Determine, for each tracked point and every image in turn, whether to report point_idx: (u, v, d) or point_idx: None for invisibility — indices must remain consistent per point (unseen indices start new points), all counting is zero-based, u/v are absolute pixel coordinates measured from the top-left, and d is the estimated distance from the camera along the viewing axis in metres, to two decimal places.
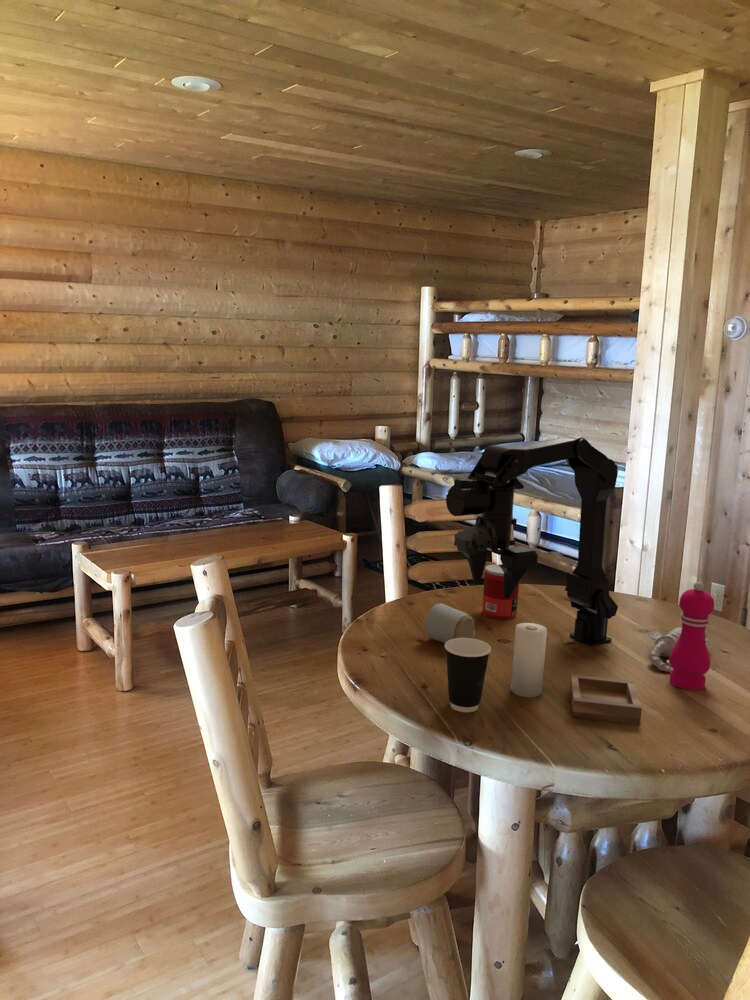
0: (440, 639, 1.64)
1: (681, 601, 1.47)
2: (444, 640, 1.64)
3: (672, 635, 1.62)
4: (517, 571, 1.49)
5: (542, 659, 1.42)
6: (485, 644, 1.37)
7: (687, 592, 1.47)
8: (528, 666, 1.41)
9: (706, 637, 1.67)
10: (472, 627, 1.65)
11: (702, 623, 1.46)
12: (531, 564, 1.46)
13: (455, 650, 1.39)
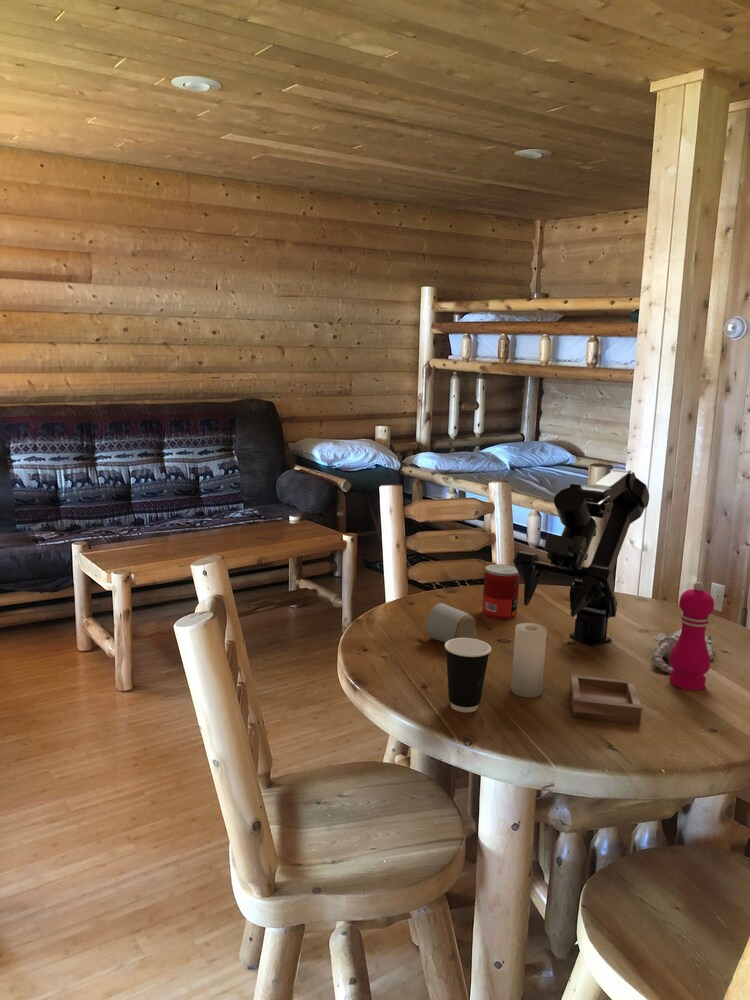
0: (441, 639, 1.65)
1: (681, 601, 1.47)
2: (445, 640, 1.64)
3: (676, 636, 1.62)
4: (589, 594, 1.48)
5: (542, 659, 1.42)
6: (485, 644, 1.37)
7: (687, 592, 1.47)
8: (528, 666, 1.41)
9: (711, 639, 1.66)
10: (473, 627, 1.65)
11: (702, 623, 1.46)
12: (610, 588, 1.47)
13: (455, 650, 1.39)
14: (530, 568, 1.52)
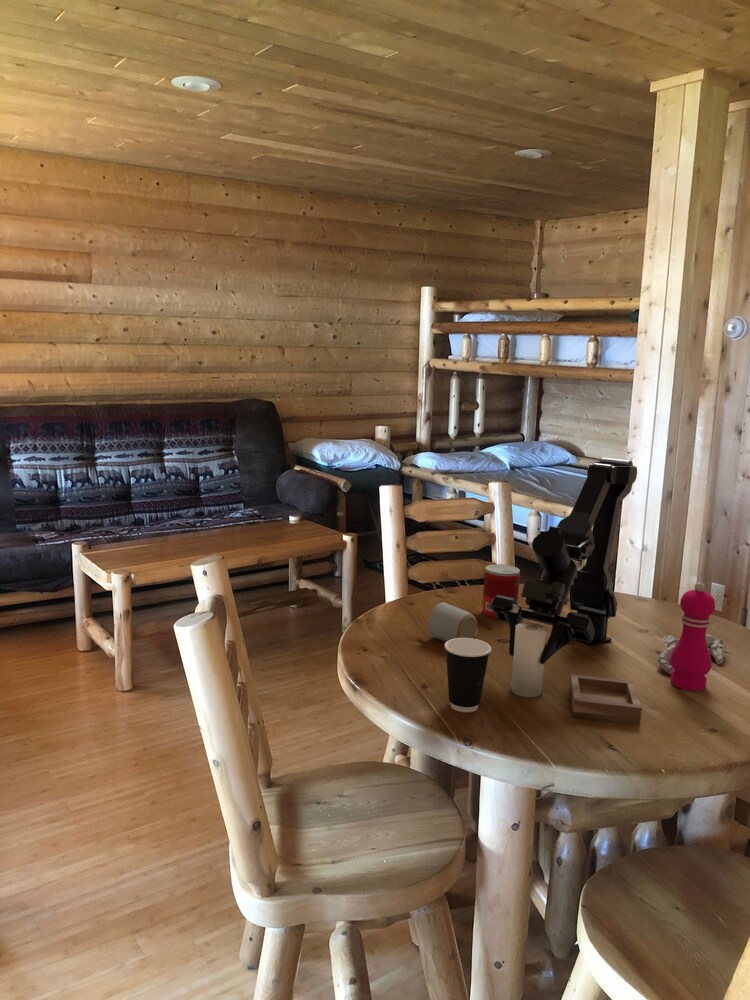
0: (443, 638, 1.65)
1: (682, 602, 1.47)
2: (447, 639, 1.64)
3: None
4: (559, 640, 1.43)
5: None
6: (485, 644, 1.37)
7: (688, 593, 1.47)
8: (528, 666, 1.41)
9: (723, 643, 1.64)
10: (475, 626, 1.66)
11: (703, 624, 1.46)
12: (590, 637, 1.41)
13: (455, 650, 1.39)
14: (516, 616, 1.45)
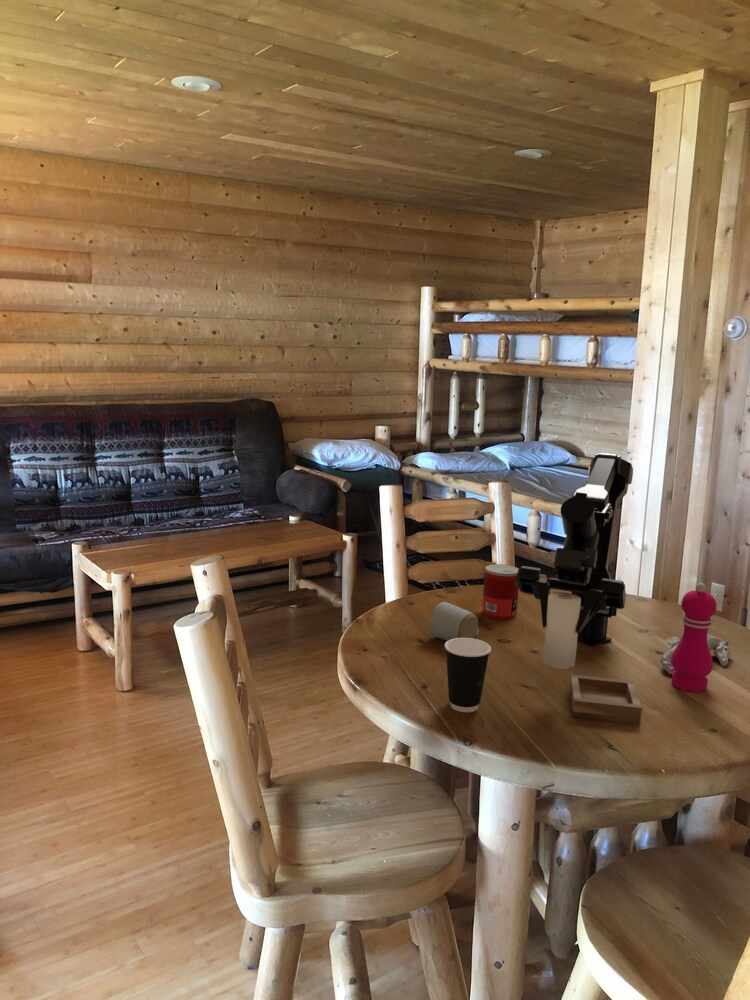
0: (444, 637, 1.65)
1: (683, 602, 1.46)
2: (448, 638, 1.65)
3: None
4: (591, 608, 1.40)
5: None
6: (485, 644, 1.37)
7: (689, 593, 1.46)
8: (564, 636, 1.37)
9: (728, 645, 1.63)
10: (476, 625, 1.66)
11: (704, 625, 1.45)
12: (623, 602, 1.39)
13: (455, 650, 1.39)
14: (546, 586, 1.41)
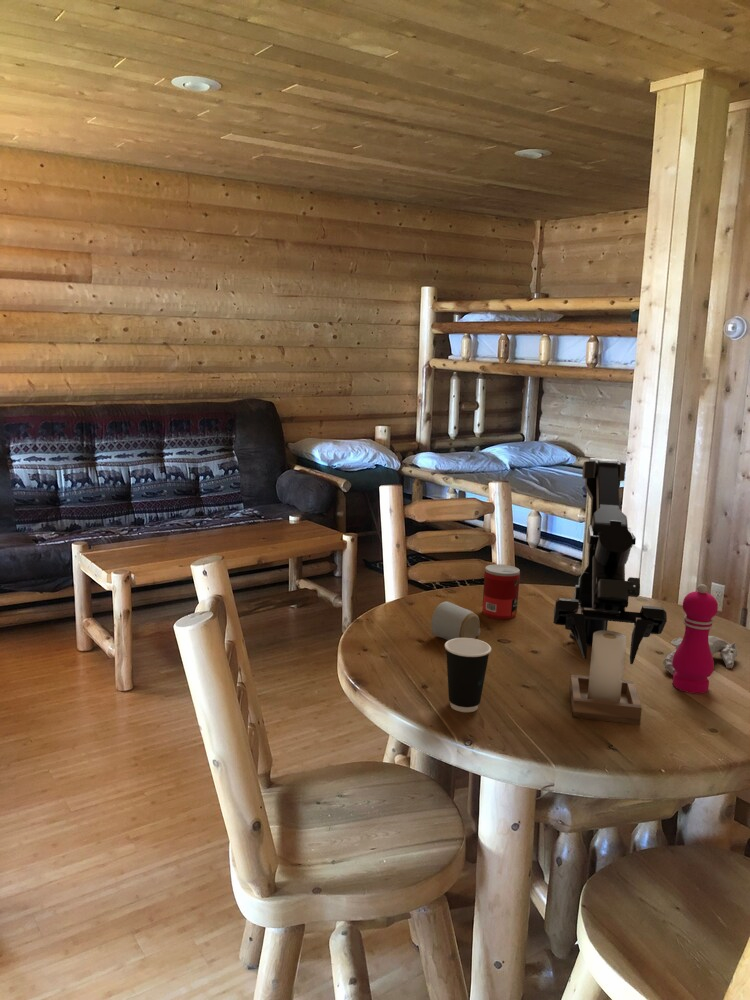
0: (446, 637, 1.66)
1: (684, 603, 1.46)
2: (450, 638, 1.65)
3: None
4: None
5: (623, 666, 1.37)
6: (485, 644, 1.37)
7: (690, 594, 1.46)
8: (614, 676, 1.36)
9: (734, 647, 1.62)
10: (478, 625, 1.66)
11: (706, 626, 1.45)
12: (662, 628, 1.40)
13: (455, 650, 1.39)
14: (583, 617, 1.39)
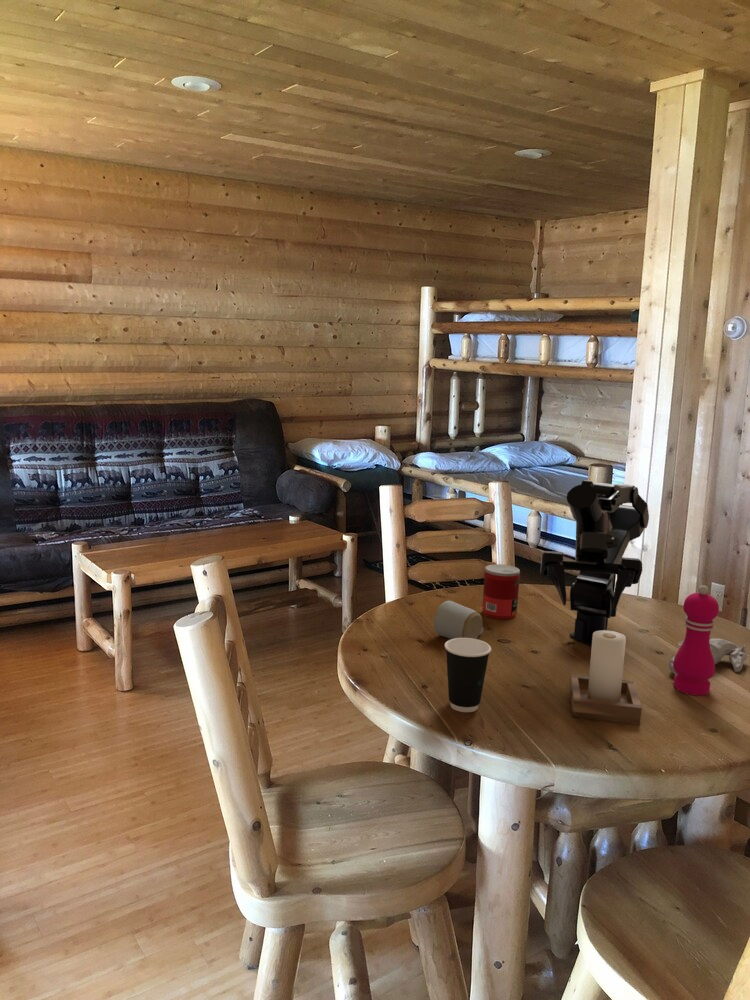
0: (449, 636, 1.67)
1: (685, 605, 1.45)
2: (453, 637, 1.66)
3: None
4: None
5: None
6: (485, 644, 1.37)
7: (691, 596, 1.45)
8: (613, 675, 1.36)
9: (744, 651, 1.60)
10: (480, 624, 1.67)
11: (706, 627, 1.44)
12: None
13: (455, 650, 1.39)
14: (563, 567, 1.53)
